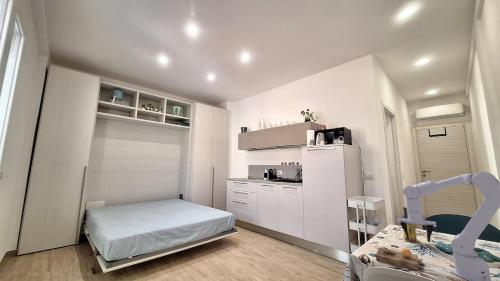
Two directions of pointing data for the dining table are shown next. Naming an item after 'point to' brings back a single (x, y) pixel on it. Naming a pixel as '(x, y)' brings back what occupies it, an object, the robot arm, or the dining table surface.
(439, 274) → the dining table surface
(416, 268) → the board
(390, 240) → the dining table surface
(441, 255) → the dining table surface
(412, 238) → the sauce bottle
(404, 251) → the ball
